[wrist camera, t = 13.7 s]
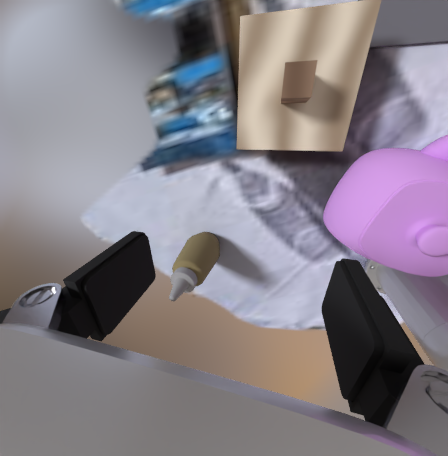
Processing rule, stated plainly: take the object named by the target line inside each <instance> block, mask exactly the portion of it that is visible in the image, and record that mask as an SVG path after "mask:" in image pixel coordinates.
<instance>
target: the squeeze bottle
mask: <svg viewBox="0 0 448 456" xmlns="http://www.w3.org/2000/svg"><path fill="white" fill-rule="evenodd" d="M219 256H220V249H219V241H218V239H217V237H216V236H215V235H213V234H211V233H209V232H202V233H199V234H196V235H194V236H192V237H191V238H189V239H188V240H187V242H186V244H185V246H184V247H183V249H182V251H181V252H180V254H179V256H178V258H177V259H176V261H175V263H174V265H173V268H172V269H173V274H172V275H171V278H170V279H171V283H172V285H173V288H172V291H171V294H170V296H169V299H170V300H171V301H175V300H176V299H177V298H178V297H179V296H180V295H181V294H182V293H183V292H185V293H187V292H191V291H192V290H193V289H194V288H195V286H199V285H200V284H202V283H203V281H204V280H205V278H206V277H207V275H208V274H209V272H210V271H211V269H212V268H213V266H214V265H215V263H216V262H217V260H218V258H219Z"/></svg>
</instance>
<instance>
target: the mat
mask: <svg viewBox="0 0 448 456" xmlns="http://www.w3.org/2000/svg"><path fill="white" fill-rule="evenodd" d="M358 1H363V0H358ZM439 42H448V0H381V4H380V8H379V12H378V16H377V20H376V23H375V27H374V31H373V35H372V39H371V43H370V47H369V48H376V47H389V46H401V45H414V44H427V43H439Z"/></svg>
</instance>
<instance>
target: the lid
mask: <svg viewBox="0 0 448 456" xmlns="http://www.w3.org/2000/svg"><path fill="white" fill-rule="evenodd" d="M380 4H381V0H363V1H355V2H347V3H339V4H332V5H324V6H316V7H308V8H300V9H293V10H285V11H277V12H269V13H262V14H254V15H246V16H240V48H239V86H238V123H237V149H252V150H300V151H343V148H344V144H345V140H346V136H347V132H348V128H349V124H350V121H351V117H352V113H353V109H354V105H355V101H356V97H357V93H358V89H359V86H360V82H361V78H362V74H363V70H364V66H365V62H366V58H367V54H368V51H369V47H370V43H371V39H372V35H373V31H374V27H375V23H376V20H377V16H378V12H379V8H380Z"/></svg>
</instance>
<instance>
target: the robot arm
mask: <svg viewBox="0 0 448 456" xmlns="http://www.w3.org/2000/svg"><path fill="white" fill-rule="evenodd" d="M154 279H155V269H154V264H153V260H152V255H151V250H150V245H149V240H148V237H147V236H146V235H145V233H143V232H136V231H133V232H131V233H129V234H128V235H126V236H125V237H124V238H122V239H121V240H119V241H118V242H116V243H115V244H114V245H112V246H111V247H109V248H108V249H106V250H105V251H104V252H102V253H101V254H99V255H98V256H96V257H95V258H93V259H92V260H91V261H90V262H88V263H86V264H85V265H83V266H82V267H81V268H79V269H78V270H76V271H75V272H73V273H72V274H71V275H69V276H68V277H66V278H65V279H64V280H63V281H64V283H65V285H66V286H65V287H64V288H63V289H62V287H61V286H60V285H59V284H56V283H49V284H43V285H40V286H37V287H35V288H33V289H31V290H29V291H27V292H25V293H24V294H22V295H21V296H20V297H19V298H18V299H17V300H16V301H15V302H14V304H13V306H12V308H9V309H6V310H3V311H0V456H448V274H447V275H443V276H438V277H427V276H420V275H414V274H410V273H406V272H403V271H399V270H396V269H393V268H390V267H387V266H384V265H382V264H379V263H377V262H374V261H372V260H370V259H369V260H368V261H367V263H366V266H365V270H364V269H363V267H362V266H361V264H360V262H359V261H357V260H351V259H341V261H337V262H336V264H335V266H334V270H333V273H332V276H331V279H330V282H329V285H328V288H327V291H326V294H325V297H324V301H323V304H322V315H323V319H324V323H325V327H326V331H327V335H328V339H329V344H330V348H331V352H332V356H333V361H334V365H335V369H336V373H337V377H338V381H339V386H340V390H341V394H342V396H343V398H344V399H347V400H348V403H349V407H350V411H351V412H353V413H357V414H361V415H364V418H365V421H364V420H361V419H359V418H356V417H353V416H350V415H347V414H345V413H341V412H338V411H335V410H332V409H328V408H325V407H322V406H319V405H315V404H312V403H309V402H306V401H302V400H299V399H296V398H293V397H289V396H286V395H283V394H279V393H276V392H272V391H268V390H265V389H262V388H258V387H255V386H251V385H248V384H245V383H241V382H238V381H234V380H231V379H227V378H224V377H221V376H217V375H214V374H210V373H207V372H203V371H200V370H196V369H192V368H189V367H186V366H182V365H179V364H175V363H171V362H168V361H165V360H161V359H157V358H154V357H150V356H147V355H143V354H140V353H136V352H132V351H129V350H126V349H122V348H118V347H115V346H111V345H107V344H104V343H100V342H96V341H93V340H90V339H87V338H88V337H89V336H91V338H92V339H95V340H98V341H102V340H103V339H104V338H105V337H106V335H108V334H110V333H111V332H112V331H113V330H114V329H115V327H116V326H117V325H118V324H119V323H120V321H121V320H122V319H123V318H124V317H125V315H126V314H127V313H128V312H129V310H130V309H131V308H132V307H133V306H134V304H135V303H136V302H137V301H138V299H139V298H140V297H141V296H142V295H143V293H144V292H145V291H146V290H147V289H148V287H149V286H150V285H151V284H152V282H153V281H154ZM377 291H379V292H381V293H384V294H387V296H388V297H389V299H390V300H391V302H392V303H393V305H394V307H395V308H396V310H397V311H398V313H399V314H400V316H401V317H402V319H403V320H404V322H405V323H406V325H407V326H408V328H409V329H410V331H411V332H412V334H413V335H414V337H415V339H416V340H417V341H418V343H419V345H420V346H421V347H422V349H423V351H424V352H425V353H426V355H427V356H428V358H429V360H430V361H431V362H432V364H433V365H434V366H432V365H425V364H424V363H423V361H422V359H421V358H420V356H419V355H418V353H417V351H416V350H415V348H414V347H413V345H412V343H411V342H410V340H409V338H408V337H407V335H406V334H405V332H404V330H403V329H402V327H401V326H400V324H399V322H398V321H397V319H396V318H395V316H394V314H393V313H392V311H391V310H390V308H389V306H388V305H387V303H386V301H385V300H384V299H383V297H382V296H380V295H379V293H378V292H377Z"/></svg>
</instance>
